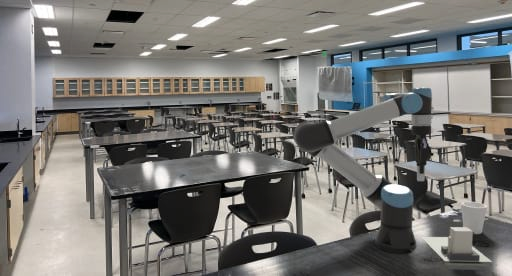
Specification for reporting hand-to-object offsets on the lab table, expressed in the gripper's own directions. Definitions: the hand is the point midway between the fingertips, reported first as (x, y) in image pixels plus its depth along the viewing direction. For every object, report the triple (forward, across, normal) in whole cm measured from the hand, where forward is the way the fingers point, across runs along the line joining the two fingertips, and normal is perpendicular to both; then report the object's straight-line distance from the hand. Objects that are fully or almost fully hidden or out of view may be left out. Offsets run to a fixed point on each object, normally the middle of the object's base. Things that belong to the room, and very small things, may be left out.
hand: (420, 180), depth 159 cm
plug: (+22, -25, -7) cm, 34 cm away
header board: (+23, -18, -8) cm, 31 cm away
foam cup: (+24, +2, -22) cm, 32 cm away
